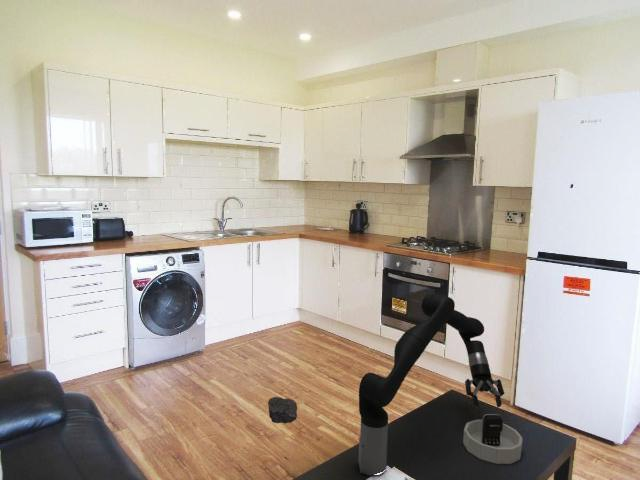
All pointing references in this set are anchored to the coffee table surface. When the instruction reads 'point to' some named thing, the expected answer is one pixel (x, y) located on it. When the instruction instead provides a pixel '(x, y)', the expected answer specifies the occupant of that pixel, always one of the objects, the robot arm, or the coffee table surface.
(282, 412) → the rock
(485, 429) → the battery charger
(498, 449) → the bowl
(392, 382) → the robot arm
